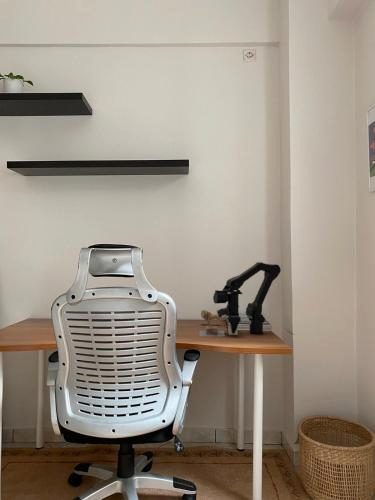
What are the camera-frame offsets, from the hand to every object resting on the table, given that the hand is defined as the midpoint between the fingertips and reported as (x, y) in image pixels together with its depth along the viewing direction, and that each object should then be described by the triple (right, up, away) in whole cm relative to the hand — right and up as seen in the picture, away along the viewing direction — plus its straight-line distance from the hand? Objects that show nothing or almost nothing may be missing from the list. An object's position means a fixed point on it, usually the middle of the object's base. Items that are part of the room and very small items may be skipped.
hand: (232, 332), depth 201 cm
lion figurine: (-9, -2, +27) cm, 29 cm away
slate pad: (-11, -1, 0) cm, 11 cm away
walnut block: (-11, -1, 0) cm, 11 cm away
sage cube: (0, -1, 0) cm, 1 cm away
